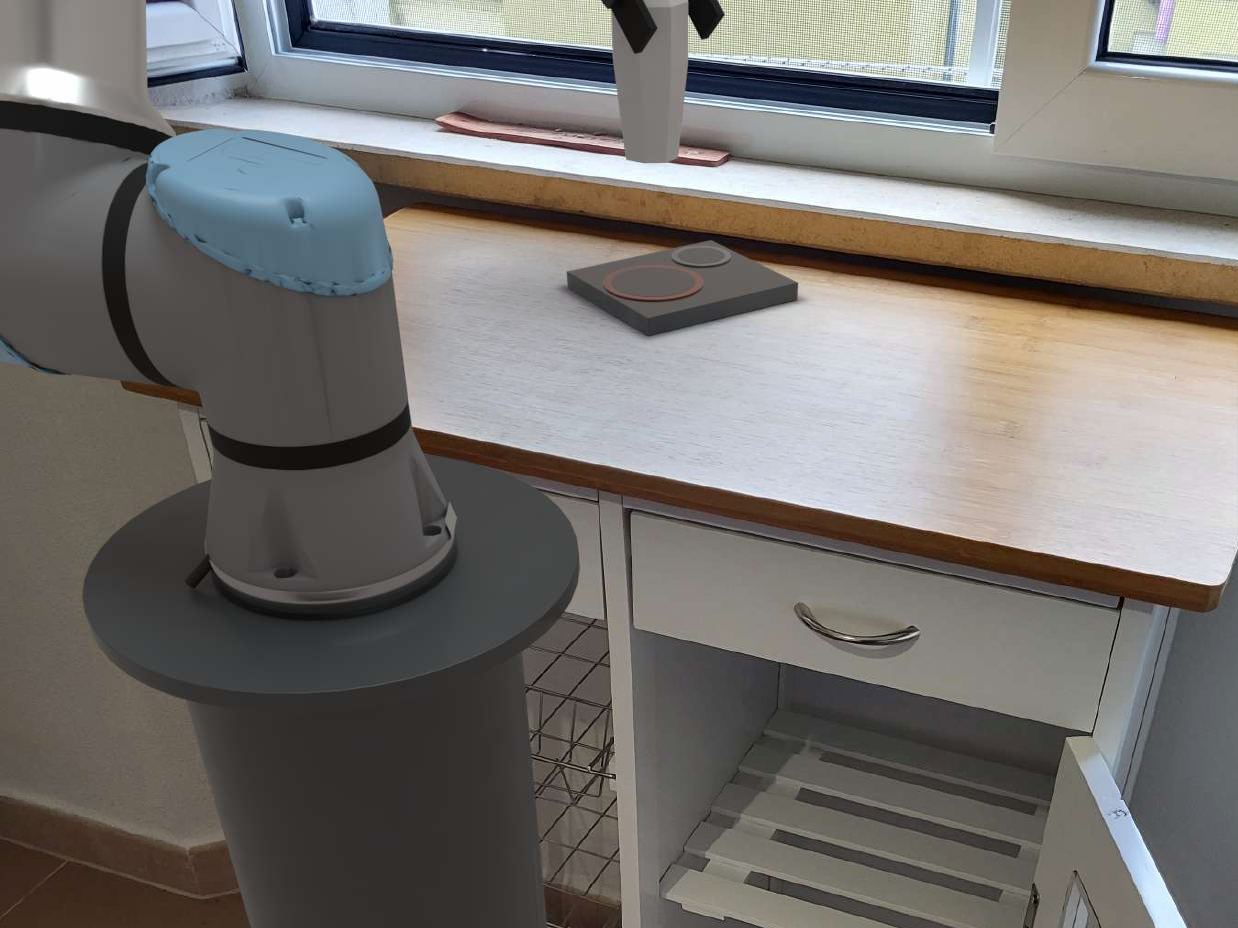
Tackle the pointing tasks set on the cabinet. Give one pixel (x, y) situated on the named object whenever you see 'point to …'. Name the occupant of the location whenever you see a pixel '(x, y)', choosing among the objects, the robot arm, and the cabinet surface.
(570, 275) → the hob
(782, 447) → the cabinet surface
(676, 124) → the low poly bottle
